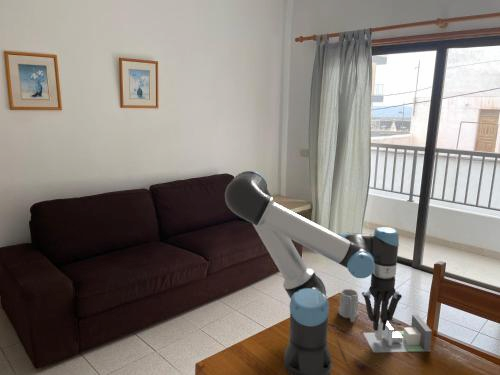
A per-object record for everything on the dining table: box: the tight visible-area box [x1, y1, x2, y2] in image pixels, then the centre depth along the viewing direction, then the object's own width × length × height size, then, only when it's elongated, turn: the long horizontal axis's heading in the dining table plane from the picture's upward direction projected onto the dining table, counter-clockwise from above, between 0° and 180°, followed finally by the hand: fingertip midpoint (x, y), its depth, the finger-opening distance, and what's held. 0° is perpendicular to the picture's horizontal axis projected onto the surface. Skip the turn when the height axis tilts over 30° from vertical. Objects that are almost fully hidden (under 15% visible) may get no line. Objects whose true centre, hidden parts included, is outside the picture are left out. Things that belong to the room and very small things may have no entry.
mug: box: [337, 288, 360, 323], centre depth 147 cm, size 8×12×12 cm, turn 179°
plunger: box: [382, 320, 402, 346], centre depth 131 cm, size 5×6×6 cm
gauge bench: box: [362, 314, 433, 353], centre depth 131 cm, size 19×11×8 cm, turn 92°
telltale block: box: [403, 326, 421, 345], centre depth 132 cm, size 4×4×4 cm
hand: (378, 338), depth 131 cm, fingers closed
